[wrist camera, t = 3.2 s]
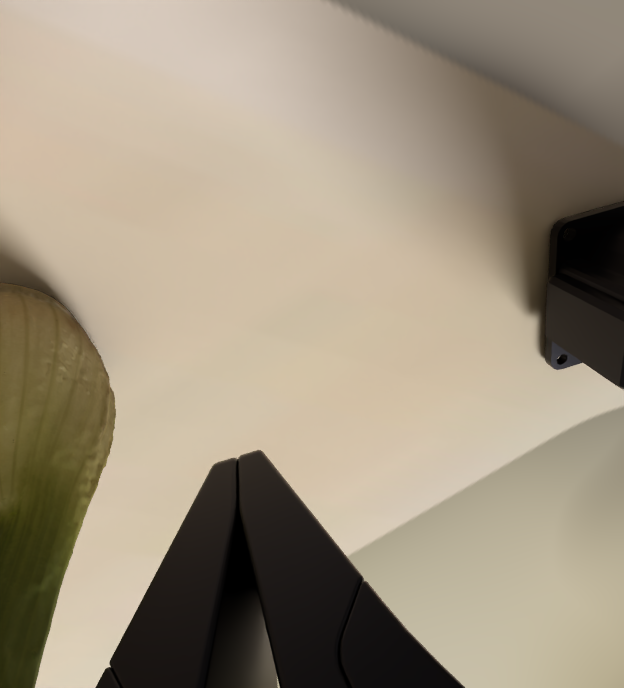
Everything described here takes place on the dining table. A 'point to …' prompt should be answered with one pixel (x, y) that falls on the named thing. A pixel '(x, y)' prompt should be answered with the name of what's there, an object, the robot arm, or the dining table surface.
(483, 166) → the dining table surface
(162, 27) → the dining table surface
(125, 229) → the dining table surface
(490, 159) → the dining table surface
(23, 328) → the fennel bulb
